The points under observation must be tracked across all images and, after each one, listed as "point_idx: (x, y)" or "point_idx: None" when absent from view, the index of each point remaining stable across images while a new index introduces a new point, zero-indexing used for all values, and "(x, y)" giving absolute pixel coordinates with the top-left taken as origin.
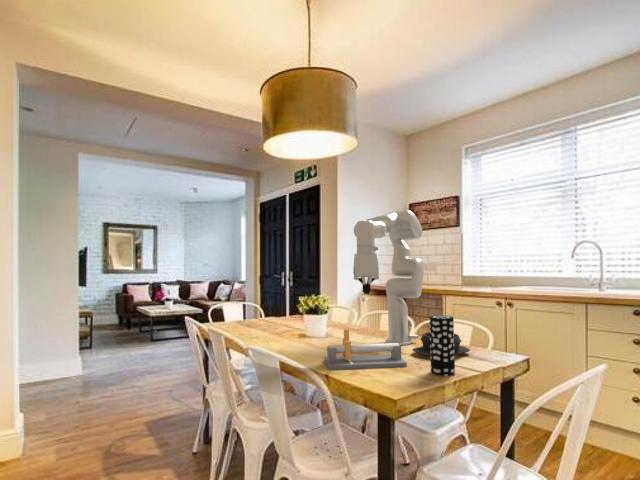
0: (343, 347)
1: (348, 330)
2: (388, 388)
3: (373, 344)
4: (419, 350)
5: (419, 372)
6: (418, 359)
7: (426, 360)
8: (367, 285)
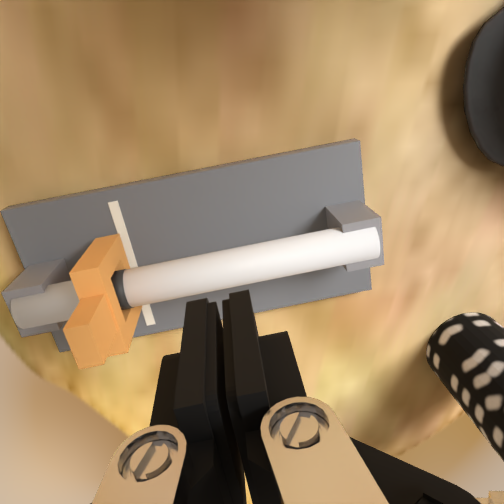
0: None
1: (100, 364)
2: None
3: (248, 278)
4: (495, 90)
5: (390, 345)
6: (447, 168)
7: (475, 184)
8: (255, 501)
